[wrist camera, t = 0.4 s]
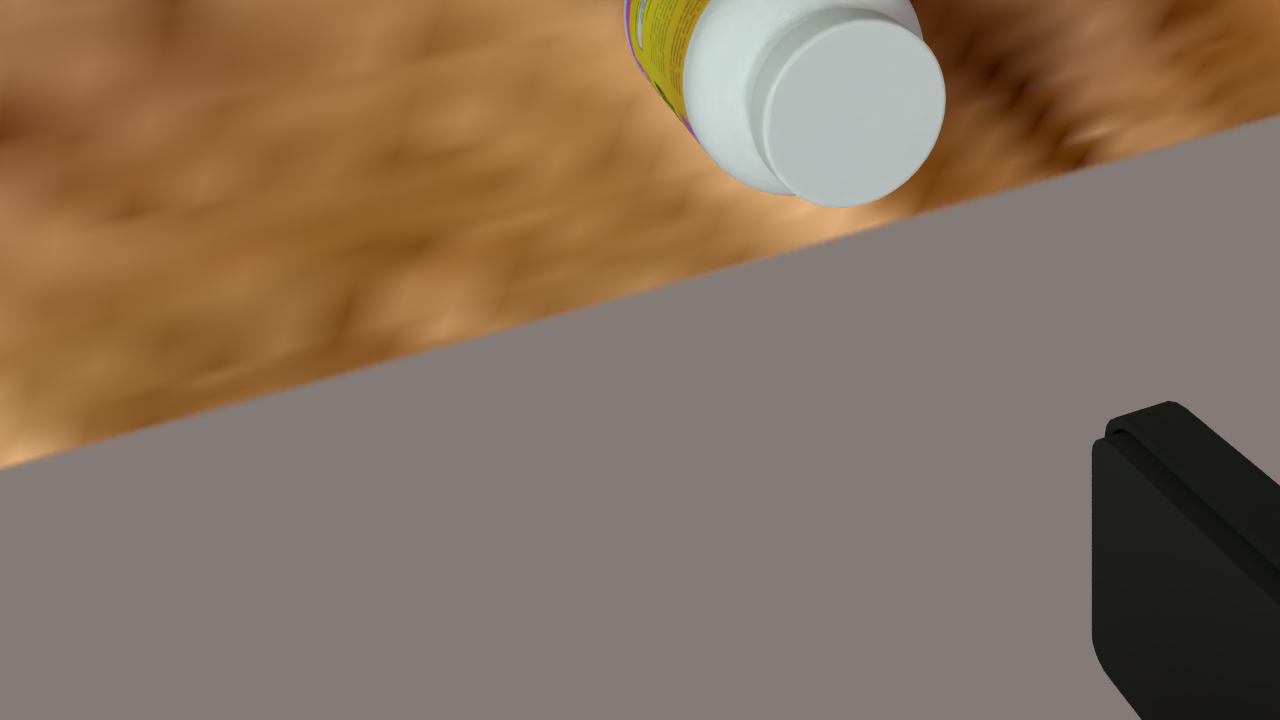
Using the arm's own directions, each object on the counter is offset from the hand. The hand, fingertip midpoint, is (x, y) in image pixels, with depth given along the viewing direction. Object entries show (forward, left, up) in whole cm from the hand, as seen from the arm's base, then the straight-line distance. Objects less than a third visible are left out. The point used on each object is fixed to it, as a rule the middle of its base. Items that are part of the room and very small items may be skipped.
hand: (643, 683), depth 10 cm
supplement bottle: (+2, +8, -30) cm, 31 cm away
